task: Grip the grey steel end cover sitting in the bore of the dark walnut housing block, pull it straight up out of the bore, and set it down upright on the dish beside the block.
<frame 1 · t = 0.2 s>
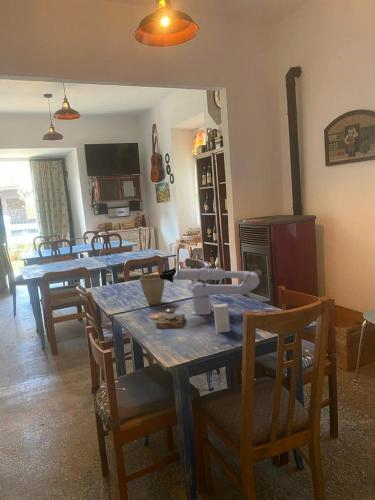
hand: (161, 275, 200), 21 cm above the table, tool horizontal, fingers open, 7 cm apart
housing: (171, 323, 187), on the table
skincare box: (222, 331, 172), on the table
dish: (158, 316, 199), on the table
plant pot: (154, 302, 227), on the table
end cover: (170, 316, 187), in the housing
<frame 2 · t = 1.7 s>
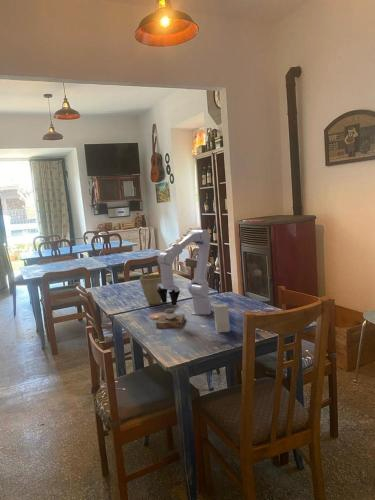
hand: (169, 303, 186), 10 cm above the table, tool pointing down, fingers open, 7 cm apart
nothing on the table moved.
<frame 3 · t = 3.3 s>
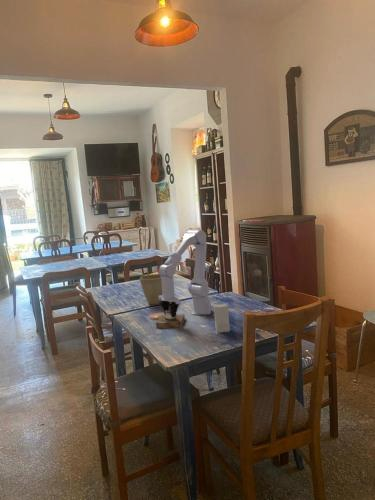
hand: (170, 315, 187), 4 cm above the table, tool pointing down, fingers closed on end cover, 5 cm apart
end cover: (170, 316, 187), in the housing, touching gripper
everything else where it was.
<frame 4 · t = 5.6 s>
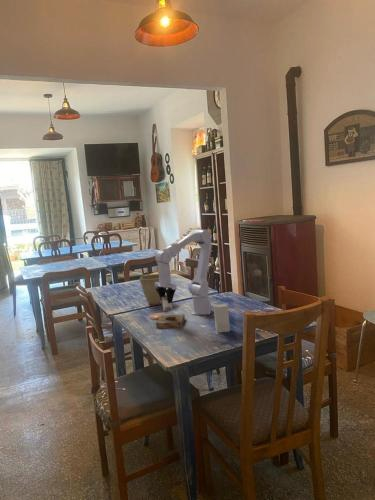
hand: (166, 301, 188), 10 cm above the table, tool pointing down, fingers closed on end cover, 5 cm apart
end cover: (167, 303, 188), point 10 cm above the table, touching gripper
everything else where it was.
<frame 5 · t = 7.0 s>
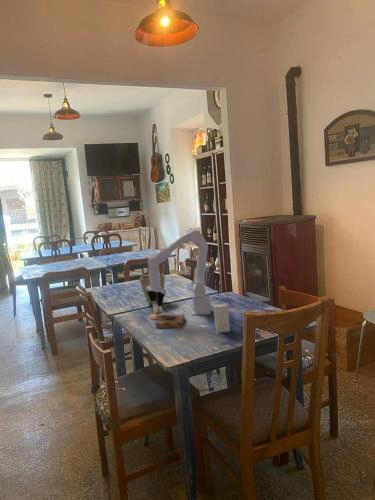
hand: (156, 305, 198), 6 cm above the table, tool pointing down, fingers closed on end cover, 5 cm apart
end cover: (157, 306, 198), point 5 cm above the table, tilted 7°, touching gripper
everything else where it was.
when the fingers open (6 cm above the table, at t = 8.1 s): end cover stays where it is, resting on dish.
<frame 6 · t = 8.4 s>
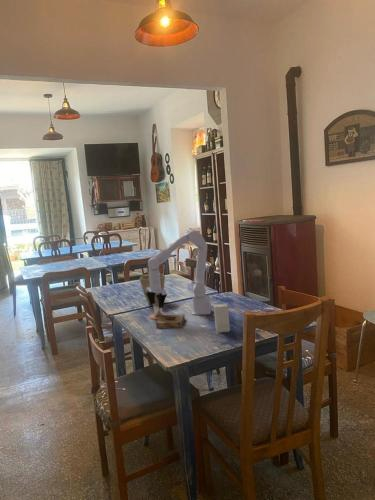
hand: (157, 306, 199), 6 cm above the table, tool pointing down, fingers open, 7 cm apart
end cover: (158, 309, 198), on the dish, point 4 cm above the table
everything else where it was.
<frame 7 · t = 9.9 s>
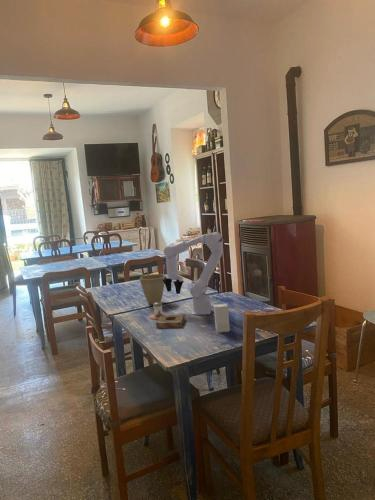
hand: (173, 292, 206), 10 cm above the table, tool pointing down, fingers open, 7 cm apart
nothing on the table moved.
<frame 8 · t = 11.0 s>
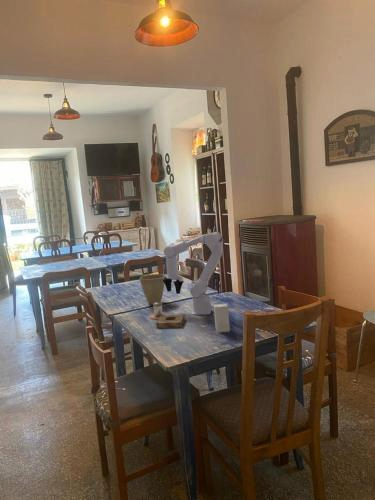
hand: (173, 292, 206), 10 cm above the table, tool pointing down, fingers open, 7 cm apart
nothing on the table moved.
at the end: end cover 0.8 cm off-centre on the dish, point 4.1 cm above the dish's base; end cover tilted 0°; the gripper is holding nothing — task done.
